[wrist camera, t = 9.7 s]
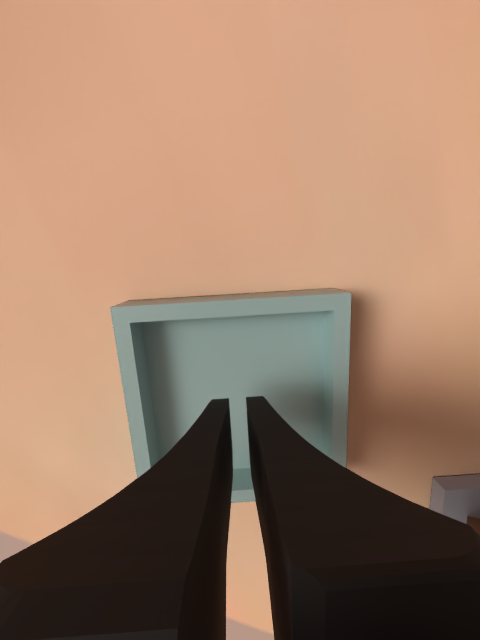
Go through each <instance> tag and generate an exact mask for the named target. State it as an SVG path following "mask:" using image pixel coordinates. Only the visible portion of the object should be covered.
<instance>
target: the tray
mask: <svg viewBox="0 0 480 640" xmlns="http://www.w3.org/2000/svg"><path fill="white" fill-rule="evenodd" d="M110 310H111V316H112V322H113V329H114V335H115V341H116V348H117V354H118V360H119V366H120V373H121V379H122V385H123V391H124V398H125V404H126V410H127V417H128V423H129V429H130V435H131V442H132V448H133V454H134V461H135V467H136V473H137V478H138V477H140V476H141V475H142V474H144V473H145V472H146V471H148V470H149V469H150V468H151V467H152V466H153V465H155V464H156V463H157V462H158V461H159V460H160V459H161V458H162V457H164V456H165V455H166V454H167V453H168V452H169V451H170V450H171V449H172V448H173V447H174V445H175V444H176V443H177V442H178V441H179V440H180V439H181V438H182V437H183V436H184V435H185V433H186V432H187V431H188V430H189V429H190V427H191V426H192V425H193V424H194V422H195V421H196V420H197V419H198V417H199V416H200V415H201V413H202V412H203V410H204V409H205V408H206V406H207V405H208V403H209V402H210V401H211V400H212V399H224V398H229V406H230V420H231V434H232V448H233V484H232V496H231V503H236V502H250V501H256V500H255V494H254V489H253V483H252V478H251V469H250V456H249V442H248V425H247V407H246V397H255V396H264V397H265V398H266V399H267V401H268V402H269V403H270V404H271V406H272V407H273V408H274V409H275V410H276V411H277V413H278V414H279V415H280V416H281V417H282V418H283V419H284V420H285V421H286V422H287V423H288V424H289V425H290V426H291V427H292V428H293V429H294V430H295V431H296V432H297V433H298V434H299V435H301V436H302V437H303V438H304V439H305V440H306V441H308V442H309V443H310V444H311V445H313V446H314V447H315V448H317V449H318V450H320V451H321V452H322V453H324V454H325V455H327V456H328V457H329V458H331V459H332V460H334V461H335V462H337V463H339V464H340V465H342V466H343V467H345V468H346V458H347V424H348V390H349V355H350V321H351V293H350V292H346V291H342V290H339V289H335V288H327V289H310V290H293V291H277V292H260V293H243V294H227V295H210V296H193V297H177V298H160V299H143V300H129V301H126V302H123V303H120V304H118V305H115V306H112V307H110Z"/></svg>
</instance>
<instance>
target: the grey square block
mask: <svg viewBox="0 0 480 640" xmlns="http://www.w3.org/2000/svg"><path fill="white" fill-rule="evenodd" d="M430 510H433V511H435V512H438V513H440V514H443V515H445V516H448V517H450V518H453V519H455V520H458V521H460V522H463V523H465V524H466V523H467V516H470V517H474V518H479V519H480V474H473V475H459V476H445V477H433V482H432V491H431V500H430Z"/></svg>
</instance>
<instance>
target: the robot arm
mask: <svg viewBox="0 0 480 640" xmlns="http://www.w3.org/2000/svg"><path fill="white" fill-rule="evenodd" d="M246 407H247V425H248V442H249V456H250V469H251V478H252V483H253V489H254V494H255V500H256V505H257V511H258V516H259V521H260V527H261V532H262V538H263V543H264V549H265V556H266V563H267V572H268V582H269V591H270V601H271V610H272V620H273V630H274V640H480V535H479V534H478V533H477V532H476V531H475V530H474V529H473V528H472V527H471V526H470V525H468V524H465V523H463V522H460V521H458V520H455V519H453V518H450V517H448V516H445V515H443V514H440V513H438V512H435V511H433V510H430V509H428V508H425V507H423V506H421V505H418V504H416V503H413V502H411V501H409V500H406V499H404V498H402V497H400V496H398V495H396V494H394V493H392V492H390V491H388V490H386V489H383V488H381V487H379V486H377V485H375V484H374V483H372V482H370V481H368V480H366V479H364V478H362V477H360V476H359V475H357V474H355V473H354V472H352V471H350V470H349V469H347V468H345V467H343V466H342V465H340V464H339V463H337V462H335V461H334V460H332V459H331V458H329V457H328V456H327V455H325V454H324V453H322V452H321V451H320V450H318V449H317V448H315V447H314V446H313V445H311V444H310V443H309V442H308V441H306V440H305V439H304V438H303V437H302V436H301V435H299V434H298V433H297V432H296V431H295V430H294V429H293V428H292V427H291V426H290V425H289V424H288V423H287V422H286V421H285V420H284V419H283V418H282V417H281V416H280V415H279V414H278V413H277V411H276V410H275V409H274V408H273V407H272V406H271V404H270V403H269V402H268V401H267V399H266V398H265V397H264V396H255V397H246ZM232 484H233V448H232V434H231V420H230V406H229V398H224V399H212V400H211V401H210V402H209V403H208V405H207V406H206V408H205V409H204V410H203V412H202V413H201V415H200V416H199V417H198V419H197V420H196V421H195V422H194V424H193V425H192V426H191V427H190V429H189V430H188V431H187V432H186V433H185V435H184V436H183V437H182V438H181V439H180V440H179V441H178V442H177V443H176V444H175V445H174V447H173V448H172V449H171V450H170V451H169V452H168V453H167V454H166V455H165V456H164V457H162V458H161V459H160V460H159V461H158V462H157V463H156V464H155V465H153V466H152V467H151V468H150V469H149V470H148V471H146V472H145V473H144V474H142V475H141V476H140V477H138V478H137V479H136V480H135V481H133V482H132V483H131V484H129V485H128V486H127V487H125V488H124V489H123V490H121V491H120V492H119V493H117V494H116V495H114V496H113V497H111V498H110V499H108V500H107V501H105V502H104V503H103V504H101V505H100V506H98V507H96V508H95V509H93V510H92V511H90V512H88V513H87V514H85V515H84V516H82V517H81V518H79V519H77V520H76V521H74V522H72V523H71V524H69V525H67V526H66V527H64V528H62V529H60V530H58V531H57V532H55V533H53V534H51V535H49V536H47V537H46V538H44V539H42V540H40V541H38V542H37V543H35V544H33V545H31V546H29V547H27V548H26V549H24V550H22V551H20V552H18V553H17V554H15V555H13V556H11V557H9V558H7V559H5V560H3V561H2V562H1V563H0V640H226V559H227V543H228V531H229V519H230V508H231V496H232Z"/></svg>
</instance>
